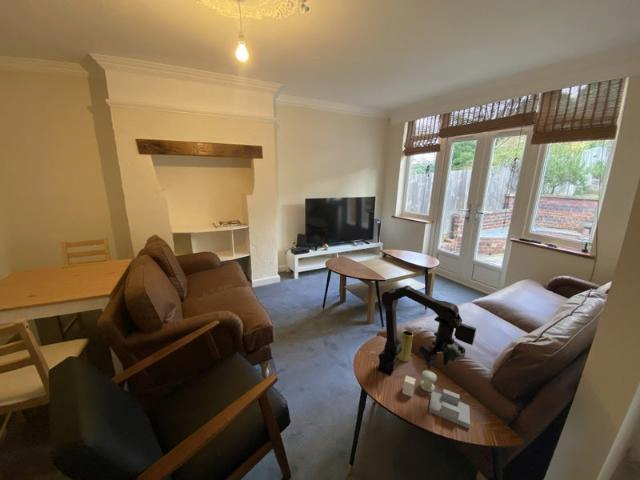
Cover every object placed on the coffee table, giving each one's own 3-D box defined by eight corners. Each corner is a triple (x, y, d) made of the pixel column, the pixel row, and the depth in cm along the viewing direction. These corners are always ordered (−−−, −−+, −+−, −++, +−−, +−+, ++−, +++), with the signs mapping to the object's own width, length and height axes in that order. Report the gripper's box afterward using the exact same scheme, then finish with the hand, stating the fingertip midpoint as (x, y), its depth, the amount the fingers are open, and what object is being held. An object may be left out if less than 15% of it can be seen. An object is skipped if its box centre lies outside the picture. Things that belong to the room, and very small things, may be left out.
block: (402, 393, 112) (404, 380, 110) (404, 387, 115) (406, 375, 114) (412, 397, 110) (414, 384, 109) (413, 391, 113) (415, 379, 112)
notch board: (428, 411, 103) (430, 400, 102) (431, 394, 112) (433, 384, 111) (469, 428, 97) (471, 417, 96) (468, 409, 106) (470, 399, 105)
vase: (410, 363, 132) (415, 337, 129) (398, 360, 133) (402, 335, 130) (409, 355, 138) (413, 331, 135) (397, 353, 139) (401, 328, 136)
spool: (419, 388, 115) (421, 376, 114) (421, 380, 120) (423, 368, 119) (433, 394, 112) (436, 382, 111) (435, 385, 118) (437, 373, 116)
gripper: (443, 349, 96) (435, 385, 100) (478, 342, 104) (469, 375, 107) (421, 332, 106) (414, 365, 110) (454, 326, 114) (446, 358, 117)
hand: (436, 366), depth 110 cm, fingers open, 9 cm apart
